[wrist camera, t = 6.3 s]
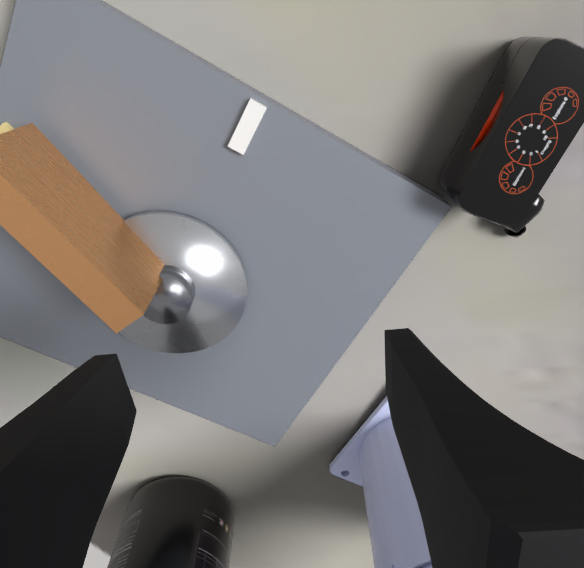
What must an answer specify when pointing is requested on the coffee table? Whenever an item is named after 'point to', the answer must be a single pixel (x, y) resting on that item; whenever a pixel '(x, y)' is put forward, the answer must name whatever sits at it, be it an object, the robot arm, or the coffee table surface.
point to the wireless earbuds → (518, 132)
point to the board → (205, 211)
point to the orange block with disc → (121, 252)
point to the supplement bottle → (175, 527)
